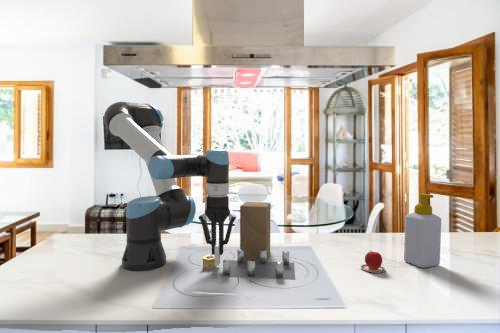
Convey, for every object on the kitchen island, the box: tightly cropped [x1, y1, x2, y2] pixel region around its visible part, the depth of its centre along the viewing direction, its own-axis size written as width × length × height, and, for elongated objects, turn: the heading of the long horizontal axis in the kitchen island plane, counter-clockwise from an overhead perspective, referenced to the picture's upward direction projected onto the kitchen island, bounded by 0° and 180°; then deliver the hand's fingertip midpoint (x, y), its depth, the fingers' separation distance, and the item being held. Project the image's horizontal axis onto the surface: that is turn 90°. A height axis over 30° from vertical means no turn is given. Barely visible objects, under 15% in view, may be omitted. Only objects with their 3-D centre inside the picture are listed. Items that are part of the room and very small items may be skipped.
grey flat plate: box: [219, 259, 296, 281], centre depth 120 cm, size 24×16×1 cm, turn 84°
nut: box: [202, 254, 218, 270], centre depth 123 cm, size 5×4×4 cm
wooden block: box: [239, 201, 271, 261], centre depth 135 cm, size 10×10×20 cm
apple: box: [360, 250, 386, 274], centre depth 121 cm, size 8×8×6 cm
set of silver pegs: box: [222, 248, 290, 278], centre depth 120 cm, size 21×14×4 cm
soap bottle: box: [403, 192, 442, 269], centre depth 127 cm, size 9×9×25 cm
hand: (217, 263), depth 122 cm, fingers closed
